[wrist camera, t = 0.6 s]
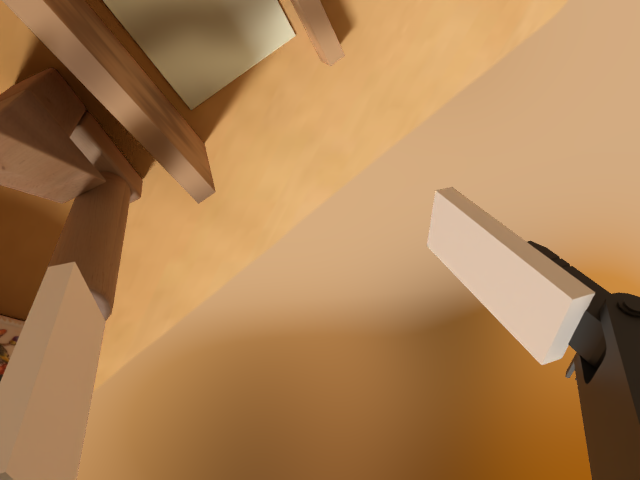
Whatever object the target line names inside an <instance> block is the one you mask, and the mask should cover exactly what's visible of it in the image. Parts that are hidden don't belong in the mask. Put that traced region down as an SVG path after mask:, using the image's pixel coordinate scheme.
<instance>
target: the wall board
mask: <svg viewBox="0 0 640 480" xmlns="http://www.w3.org/2000/svg"><path fill="white" fill-rule="evenodd" d="M2 1H3V2H4V3H5V4H6V5H7V6H8V7H9V8H10V9H11V10H12V11H13V12H14V13H15V14H16V15H17V16H18V17H19V19H20V20H21V21H22V22H23V23H24V24H25V25H26V26H27V27H28V28H29V29H30V30H31V31H32V32H33V33H34V34H35V35H36V36H37V37H38V38H39V39H40V40H41V41H42V42H43V43H44V44H45V45H46V46H47V47H48V49H49V50H50V51H51V52H52V53H53V54H54V55H55V56H56V57H57V58H58V59H59V60H60V61H61V62H62V63H63V64H64V65H65V66H66V67H67V68H68V69H69V70H70V71H71V72H72V73H73V74H74V75H75V76H76V77H77V79H78V80H79V81H80V82H81V83H82V84H83V85H84V86H85V87H86V88H87V89H88V90H89V91H90V92H91V93H92V94H93V95H94V96H95V97H96V98H97V99H98V100H99V101H100V102H101V103H102V104H103V105H104V106H105V107H106V109H107V110H108V111H109V112H110V113H111V114H112V115H113V116H114V117H115V118H116V119H117V120H118V121H119V122H120V123H121V124H122V125H123V126H124V127H125V128H126V129H127V130H128V131H129V132H130V133H131V134H132V135H133V136H134V137H135V138H136V140H137V141H138V142H139V143H140V144H141V145H142V146H143V147H144V148H145V149H146V150H147V151H148V152H149V153H150V154H151V155H152V156H153V157H154V158H155V159H156V160H157V161H158V162H159V163H160V164H161V165H162V166H163V167H164V168H165V170H166V171H167V172H168V173H169V174H170V175H171V176H172V177H173V178H174V179H175V180H176V181H177V182H178V183H179V184H180V185H181V186H182V187H183V188H184V189H185V190H186V191H187V192H188V193H189V194H190V195H191V196H192V197H193V198H194V200H195V201H196V202H197V203H198V204H199V203H200V202H202V201H203V200H205V199H206V198H207V197H209V196H210V195H212V194H213V193H215V187H214V183H213V179H212V174H211V170H210V166H209V161H208V157H207V153H206V148H205V144H204V143H203V141H202V140H201V139H200V138H199V137H198V135H197V134H196V133H195V132H194V131H193V129H192V128H191V127H190V126H189V125H188V123H187V122H186V121H185V120H184V119H183V117H182V116H181V115H180V114H179V113H178V111H177V110H176V109H175V108H174V107H173V105H172V104H171V103H170V102H169V101H168V99H167V98H166V97H165V96H164V95H163V93H162V92H161V91H160V90H159V89H158V87H157V86H156V85H155V84H154V83H153V81H152V80H151V79H150V78H149V77H148V75H147V74H146V73H145V72H144V71H143V69H142V68H141V67H140V66H139V65H138V63H137V62H136V61H135V60H134V59H133V57H132V56H131V55H130V54H129V53H128V51H127V50H126V49H125V48H124V47H123V45H122V44H121V43H120V42H119V41H118V39H117V38H116V37H115V36H114V35H113V33H112V32H111V31H110V30H109V29H108V27H107V26H106V25H105V24H104V23H103V21H102V20H101V19H100V18H99V17H98V15H97V14H96V13H95V12H94V11H93V9H92V8H91V7H90V6H89V5H88V3H87V2H86V1H85V0H2ZM103 1H104V3H105V4H106V5H107V6H108V8H109V9H110V10H111V11H112V13H113V14H114V15H115V16H116V18H117V19H118V20H119V21H120V23H121V24H122V25H123V26H124V28H125V29H126V30H127V31H128V33H129V34H130V35H131V36H132V37H133V39H134V40H135V41H136V42H137V44H138V45H139V46H140V47H141V49H142V50H143V51H144V52H145V54H146V55H147V56H148V57H149V59H150V60H151V61H152V62H153V64H154V65H155V66H156V67H157V69H158V70H159V71H160V72H161V73H162V75H163V76H164V77H165V78H166V80H167V81H168V82H169V83H170V85H171V86H172V87H173V88H174V90H175V91H176V92H177V93H178V95H179V96H180V97H181V98H182V100H183V101H184V102H185V103H186V105H187V106H188V107H189V108H190V110H193V109H194V108H195V107H197V106H198V105H200V104H201V103H202V102H204V101H205V100H207V99H208V98H209V97H211V96H212V95H214V94H215V93H216V92H218V91H219V90H221V89H222V88H223V87H225V86H226V85H228V84H229V83H230V82H232V81H233V80H235V79H236V78H237V77H239V76H240V75H242V74H243V73H244V72H246V71H247V70H249V69H250V68H251V67H253V66H254V65H256V64H257V63H258V62H260V61H261V60H263V59H264V58H265V57H267V56H268V55H270V54H271V53H272V52H274V51H275V50H277V49H278V48H279V47H281V46H282V45H284V44H285V43H286V42H288V41H289V40H291V39H292V38H293V37H295V36H296V35H295V33H294V31H293V29H292V27H291V26H290V24H289V22H288V20H287V18H286V16H285V14H284V12H283V10H282V8H281V7H280V5H279V3H278V1H277V0H103ZM291 2H292V4H293V6H294V8H295V10H296V12H297V14H298V16H299V18H300V20H301V22H302V24H303V26H304V28H305V30H306V32H307V34H308V36H309V38H310V39H311V41H312V43H313V45H314V47H315V49H316V51H317V53H318V55H319V57H320V59H321V61H322V62H324V63H326V64H328V65H329V66H332V65H333V64H334V63H336V62H337V61H339V60H340V59H342V58H343V57H344V56H345V54H344V52H343V50H342V48H341V45H340V43H339V41H338V39H337V37H336V34H335V32H334V30H333V28H332V26H331V23H330V21H329V19H328V17H327V15H326V12H325V10H324V8H323V6H322V4H321V2H320V0H291Z"/></svg>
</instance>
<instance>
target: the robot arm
mask: <svg viewBox="0 0 640 480" xmlns="http://www.w3.org/2000/svg"><path fill="white" fill-rule="evenodd" d="M427 246H428V248H429V249H430V250H431V251H432V252H433V253H434V254H435V255H436V256H437V257H438V258H439V259H440V260H441V261H442V262H443V263H444V264H445V265H446V266H447V267H448V268H449V270H450V271H451V272H452V273H453V274H454V275H455V276H456V277H457V278H458V279H459V280H460V281H461V282H462V283H463V284H464V285H465V286H466V287H467V288H468V289H469V290H470V291H471V292H472V293H473V294H474V295H475V296H476V298H477V299H478V300H480V302H481V303H482V304H483V305H484V306H485V307H486V308H487V309H488V310H489V311H490V312H491V313H492V314H493V315H494V316H495V317H496V318H497V319H498V320H499V321H500V322H501V323H502V325H503V326H504V327H505V328H506V329H507V330H508V331H509V332H510V333H511V334H512V335H513V336H514V337H515V338H516V339H517V340H518V341H519V342H520V343H521V344H522V345H523V346H524V347H525V348H526V349H527V350H528V352H529V353H530V354H531V355H532V356H533V357H534V358H535V359H536V360H537V361H538V362H539V363H540V364H541V365H544V364H546V363H549V362H552V361H555V360H558V359H561V358H562V357H563V355H564V353H565V351H566V349H567V347H568V345H570V346H571V347H572V348H573V349H574V350H575V351H576V352H577V353H576V355H575V356H574V358H573V360H572V362H571V364H570V366H569V368H568V369H567V371H566V377H567V378H570V376H571V374H572V373H573V371H574V370H575V371H576V380H577V385H578V390H579V397H580V404H581V410H582V417H583V423H584V430H585V436H586V443H587V449H588V455H589V462H590V468H591V475H592V480H640V297H638V296H635V295H631V294H626V293H614V294H611V293H609V292H608V291H606V290H605V289H603V288H602V287H601V286H599V285H598V284H597V283H595V282H594V281H592V280H591V279H589V278H588V277H587V276H585V275H584V274H582V273H581V272H580V271H578V270H577V269H576V268H574V267H573V266H570V264H569V263H567V262H566V261H564V260H563V259H560V258H559V256H557V255H556V254H554V253H553V252H552V251H550V250H549V249H548V248H546V247H544V246H541V245H539V244H536V243H534V242H532V241H528V242H526V241H525V240H523V239H522V238H521V237H519V236H518V235H516V234H515V233H514V232H512V231H511V230H510V229H508V228H507V227H506V226H504V225H503V224H502V223H500V222H499V221H497V220H496V219H495V218H493V217H492V216H491V215H489V214H488V213H487V212H485V211H484V210H482V209H481V208H480V207H479V206H477V205H476V204H474V203H473V202H472V201H470V200H469V199H468V198H466V197H465V196H464V195H462V194H461V193H460V192H458V191H457V190H455V189H454V188H453V187H450V188H445V189H440V190H436V192H435V197H434V204H433V210H432V217H431V223H430V229H429V235H428V242H427ZM105 322H106V321H105V319H104V317H103V315H102V314H101V312H100V310H99V308H98V306H97V304H96V302H95V300H94V298H93V296H92V294H91V292H90V290H89V288H88V286H87V284H86V282H85V280H84V278H83V276H82V274H81V272H80V270H79V269H78V267H77V265H76V263H75V262H71V263H66V264H61V265H56V266H50V267H48V269H47V271H46V273H45V276H44V278H43V281H42V283H41V285H40V288H39V290H38V293H37V295H36V297H35V300H34V302H33V305H32V307H31V309H30V312H29V314H28V317H27V319H26V321H25V324H24V326H23V329H22V331H21V333H20V336H19V338H18V341H17V343H16V345H15V348H14V350H13V353H12V355H11V357H10V360H9V362H8V365H7V367H6V369H5V372H4V374H1V375H0V480H77V475H78V469H79V464H80V458H81V453H82V447H83V442H84V437H85V431H86V426H87V420H88V415H89V409H90V404H91V399H92V393H93V388H94V382H95V377H96V371H97V366H98V360H99V355H100V350H101V344H102V339H103V333H104V328H105Z"/></svg>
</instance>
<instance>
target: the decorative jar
mask: <svg viewBox="0 0 640 480" xmlns="http://www.w3.org/2000/svg"><path fill="white" fill-rule="evenodd" d="M24 324H25V321H21V320H17V319H13V318H10V317H6V316H2V315H0V375H1V374H4V372H5V369H6V367H7V365H8V362H9V360H10V357H11V355H12V353H13V350H14V348H15V345H16V343H17V341H18V338H19V336H20V333H21V331H22V329H23V326H24Z"/></svg>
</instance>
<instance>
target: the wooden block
mask: <svg viewBox="0 0 640 480" xmlns="http://www.w3.org/2000/svg"><path fill="white" fill-rule="evenodd" d="M85 110H86V108H85V106H84V104H83V103H82V102H81V101H80V99H79V98H78V97H77V95H76V94H75V93H74V92H73V90H72V89H71V88H70V87H69V85H68V84H67V83H66V81H65V80H64V79H63V78H62V76H61V75H60V74H59V72H58V71H57V70H55V69H54V68H48V69H46V70H44V71H42V72H40V73H38V74H36V75H33V76H31V77H29V78H27V79H25V80H23V81H21V82H19V83H17V84H15V85H13V86H12V87H10V88H9V89H7V90H6V91H5V92H3V93H2V94H1V95H0V185H2V186H5V187H8V188H12V189H15V190H18V191H22V192H25V193H28V194H32V195H35V196H38V197H41V198H45V199H48V200H51V201H55V202H58V203H65V202H67V201H69V200H71V199H73V198H75V197H76V198H75V200H74V203H73V205H72V208H71V210H70V212H69V215H68V217H67V220H66V222H65V225H64V227H63V230H62V232H61V235H60V237H59V240H58V242H57V245H56V247H55V250H54V252H53V255H52V257H51V260H50V262H49V265H48V267H50V266H56V265H61V264H66V263H71V262H75V263H76V265H77V267H78V269H79V270H80V272H81V274H82V276H83V278H84V280H85V282H86V284H87V286H88V288H89V290H90V292H91V294H92V296H93V298H94V300H95V302H96V304H97V306H98V308H99V310H100V312H101V314H102V315H103V317H104V319H105V321H106V320H107V319H108V317H109V316H110V315H111V313H112V308H113V303H114V297H115V290H116V284H117V278H118V271H119V265H120V259H121V252H122V246H123V240H124V233H125V227H126V221H127V215H128V208H129V203H131V202H133V201H135V200H137V199H139V198H140V197H141V192H142V183H143V181H142V179H141V178H140V176H139V175H138V174H137V172H136V171H135V170H134V169H133V167H132V166H131V165H130V163H129V162H128V161H127V160H126V158H125V157H124V156H123V154H122V153H121V152H120V151H119V149H118V148H117V147H116V146H115V144H114V143H113V142H112V140H111V139H110V138H109V137H108V135H107V134H106V133H105V131H104V130H103V129H102V128H101V126H100V125H99V124H98V123H97V121H96V120H95V119H94V117H93V116H92V115H91V114H90V113H89V112H85ZM48 267H47V269H48ZM46 271H47V270H46ZM45 273H46V272H45ZM44 276H45V275H44ZM43 278H44V277H43ZM42 281H43V280H42ZM41 283H42V282H41ZM39 288H40V287H39ZM37 293H38V292H37Z"/></svg>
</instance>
